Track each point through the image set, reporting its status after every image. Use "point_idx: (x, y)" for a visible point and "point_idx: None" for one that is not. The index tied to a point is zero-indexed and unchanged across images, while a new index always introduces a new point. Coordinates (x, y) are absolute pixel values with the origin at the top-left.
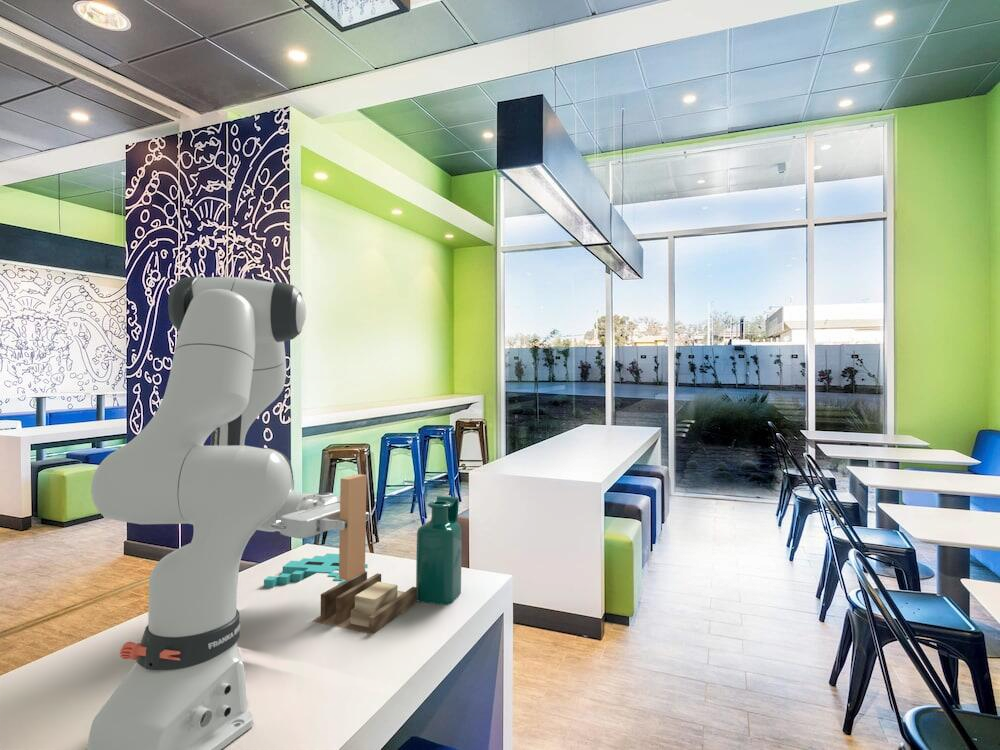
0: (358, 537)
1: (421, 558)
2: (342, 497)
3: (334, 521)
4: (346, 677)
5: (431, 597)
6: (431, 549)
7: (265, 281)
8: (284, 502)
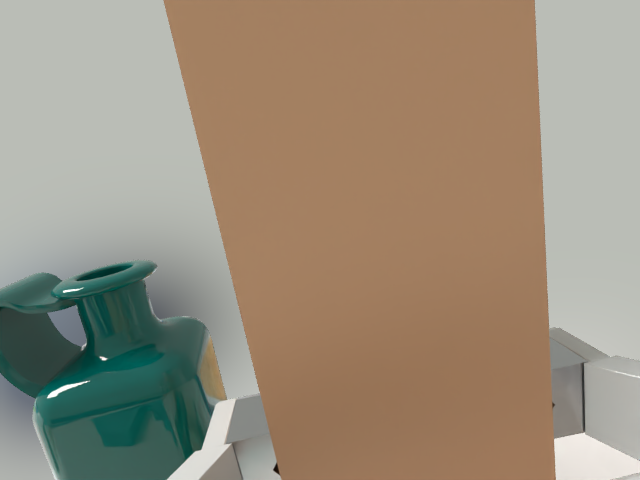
0: None
1: None
2: (522, 165)
3: (624, 364)
4: (625, 461)
5: None
6: (215, 388)
7: None
8: None
